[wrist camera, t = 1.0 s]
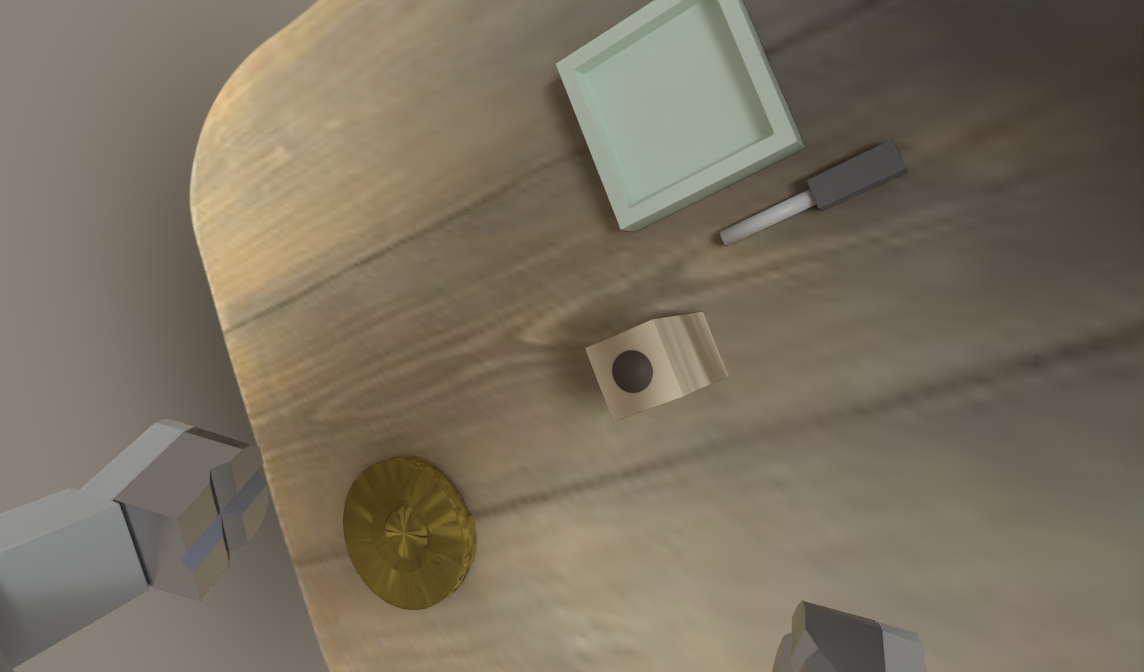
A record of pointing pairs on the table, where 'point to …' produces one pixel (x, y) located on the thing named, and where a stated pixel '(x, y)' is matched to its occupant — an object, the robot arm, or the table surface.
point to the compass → (408, 532)
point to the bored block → (655, 363)
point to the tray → (677, 106)
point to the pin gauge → (828, 189)
